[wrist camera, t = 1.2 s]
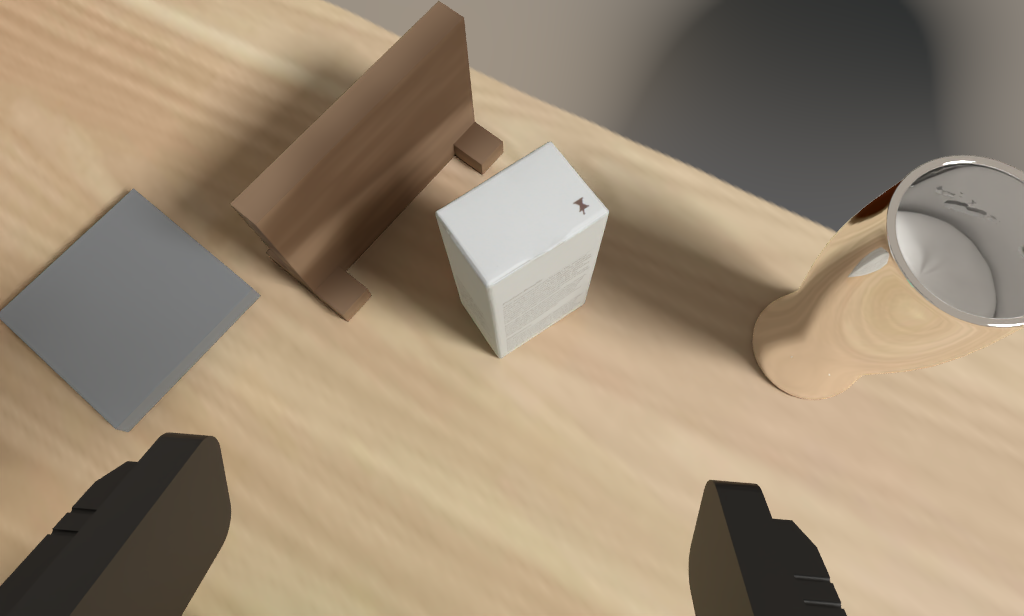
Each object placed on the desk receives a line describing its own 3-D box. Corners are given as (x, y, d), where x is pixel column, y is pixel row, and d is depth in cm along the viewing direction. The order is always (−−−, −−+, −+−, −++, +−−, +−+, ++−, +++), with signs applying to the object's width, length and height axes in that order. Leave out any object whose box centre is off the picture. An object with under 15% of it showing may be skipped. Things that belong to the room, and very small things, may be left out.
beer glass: (750, 276, 39) (886, 132, 25) (873, 301, 38) (1084, 169, 24) (736, 393, 37) (875, 309, 23) (865, 421, 36) (1091, 353, 22)
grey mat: (11, 321, 38) (-4, 315, 37) (144, 197, 41) (133, 188, 40) (128, 432, 36) (115, 429, 35) (260, 295, 39) (252, 288, 38)
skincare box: (543, 247, 40) (554, 135, 28) (585, 304, 38) (615, 211, 27) (456, 302, 39) (430, 209, 27) (497, 362, 37) (489, 291, 26)
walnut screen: (273, 260, 39) (195, 176, 30) (429, 100, 43) (404, -22, 33) (347, 321, 38) (292, 254, 29) (503, 152, 41) (499, 41, 32)
